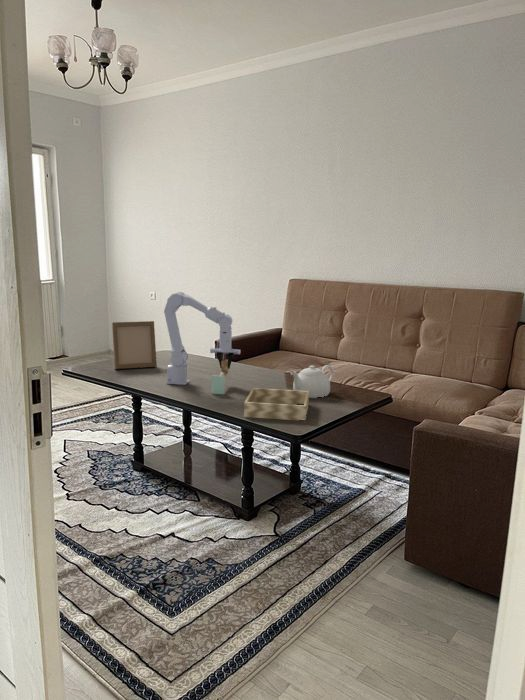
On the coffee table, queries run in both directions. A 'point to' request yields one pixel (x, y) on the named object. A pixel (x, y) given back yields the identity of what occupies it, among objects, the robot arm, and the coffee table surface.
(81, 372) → the coffee table surface
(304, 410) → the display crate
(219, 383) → the tile
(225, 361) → the turner
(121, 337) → the photo frame
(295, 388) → the teapot
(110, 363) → the coffee table surface
